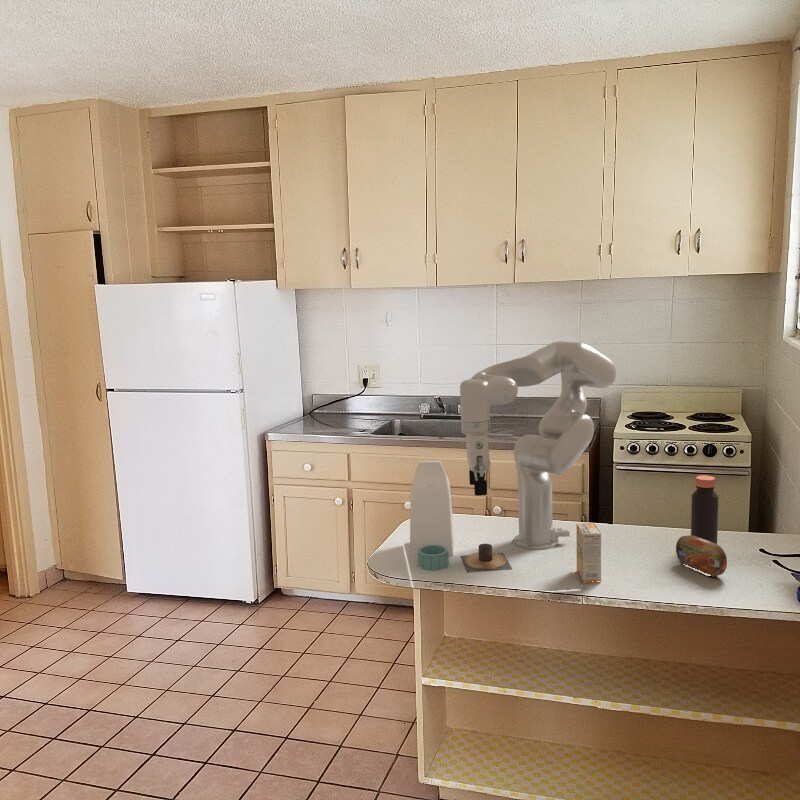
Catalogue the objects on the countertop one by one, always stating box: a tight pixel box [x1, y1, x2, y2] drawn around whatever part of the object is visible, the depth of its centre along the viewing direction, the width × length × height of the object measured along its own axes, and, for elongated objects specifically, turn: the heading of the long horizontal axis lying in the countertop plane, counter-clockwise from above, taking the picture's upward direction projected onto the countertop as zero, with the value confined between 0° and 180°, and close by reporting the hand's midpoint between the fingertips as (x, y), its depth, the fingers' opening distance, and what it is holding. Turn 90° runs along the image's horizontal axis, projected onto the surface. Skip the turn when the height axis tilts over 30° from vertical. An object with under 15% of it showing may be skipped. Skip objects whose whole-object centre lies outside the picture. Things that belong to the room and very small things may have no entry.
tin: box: [675, 534, 728, 578], centre depth 193 cm, size 15×3×8 cm, turn 23°
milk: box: [409, 460, 455, 557], centre depth 214 cm, size 12×12×26 cm
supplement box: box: [576, 522, 602, 583], centre depth 192 cm, size 8×5×13 cm, turn 178°
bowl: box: [417, 545, 450, 571], centre depth 204 cm, size 8×8×4 cm
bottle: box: [690, 475, 719, 545], centre depth 207 cm, size 7×7×20 cm
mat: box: [459, 552, 513, 573], centre depth 204 cm, size 12×12×1 cm
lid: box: [465, 543, 507, 570], centre depth 204 cm, size 11×11×5 cm
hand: (478, 489), depth 201 cm, fingers open, 9 cm apart
